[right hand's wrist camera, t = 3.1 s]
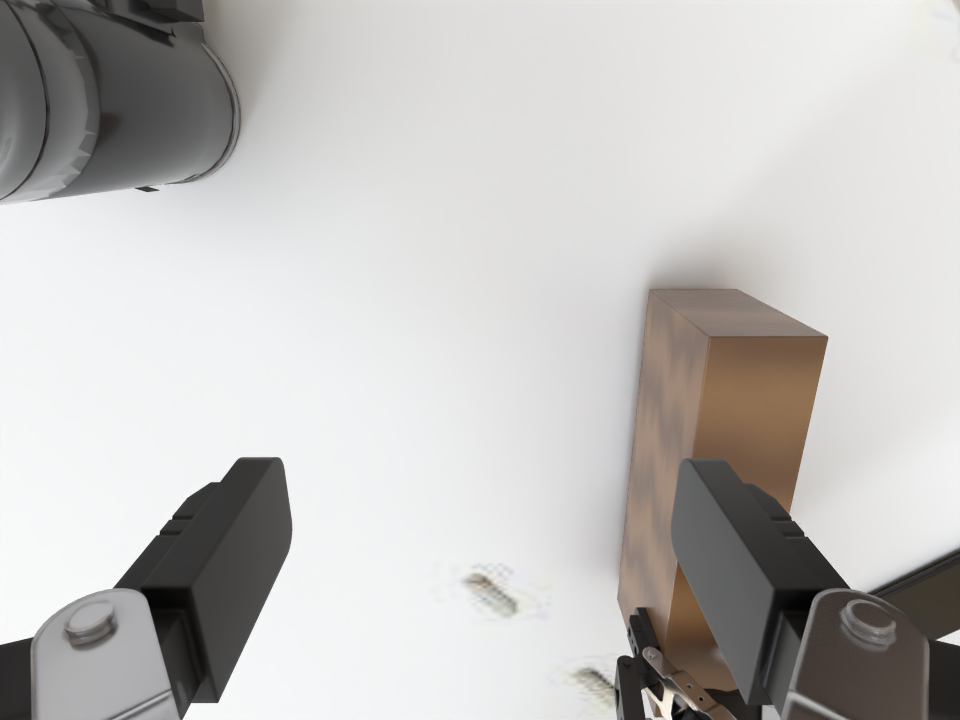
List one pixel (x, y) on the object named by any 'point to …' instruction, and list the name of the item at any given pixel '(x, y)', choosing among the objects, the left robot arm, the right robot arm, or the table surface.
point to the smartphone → (930, 598)
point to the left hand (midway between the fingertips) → (686, 616)
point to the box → (709, 442)
